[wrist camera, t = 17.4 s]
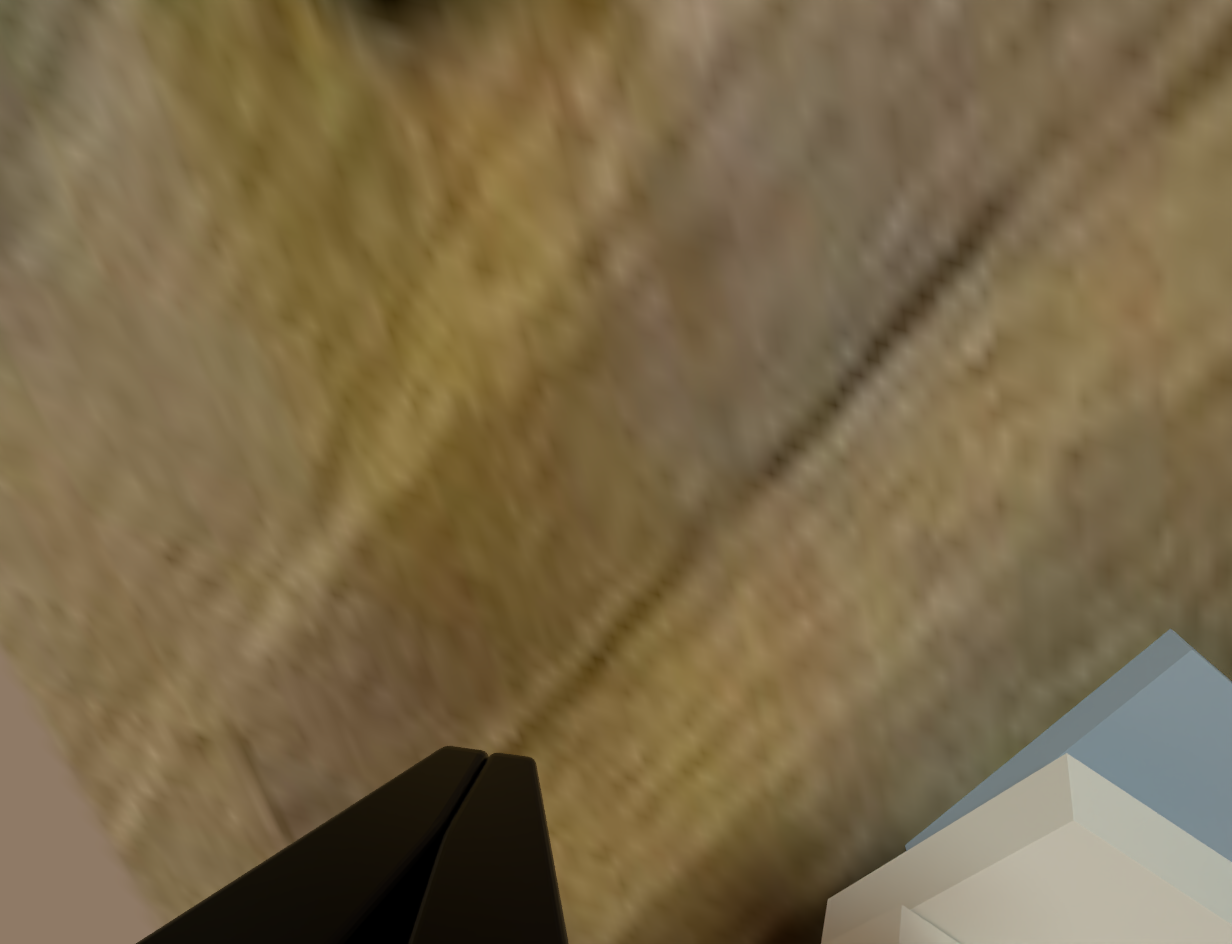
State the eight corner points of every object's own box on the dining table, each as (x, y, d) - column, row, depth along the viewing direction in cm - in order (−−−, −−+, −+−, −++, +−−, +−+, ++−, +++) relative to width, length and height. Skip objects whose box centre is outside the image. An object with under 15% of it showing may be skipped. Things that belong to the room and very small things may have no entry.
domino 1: (899, 828, 22) (1156, 615, 20) (1043, 944, 22) (1311, 750, 20) (912, 873, 20) (1192, 649, 18) (1066, 997, 21) (1359, 793, 19)
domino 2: (828, 899, 22) (1066, 752, 17) (991, 1007, 22) (1276, 892, 17) (818, 959, 21) (1073, 820, 16) (993, 1074, 21) (1300, 970, 16)
